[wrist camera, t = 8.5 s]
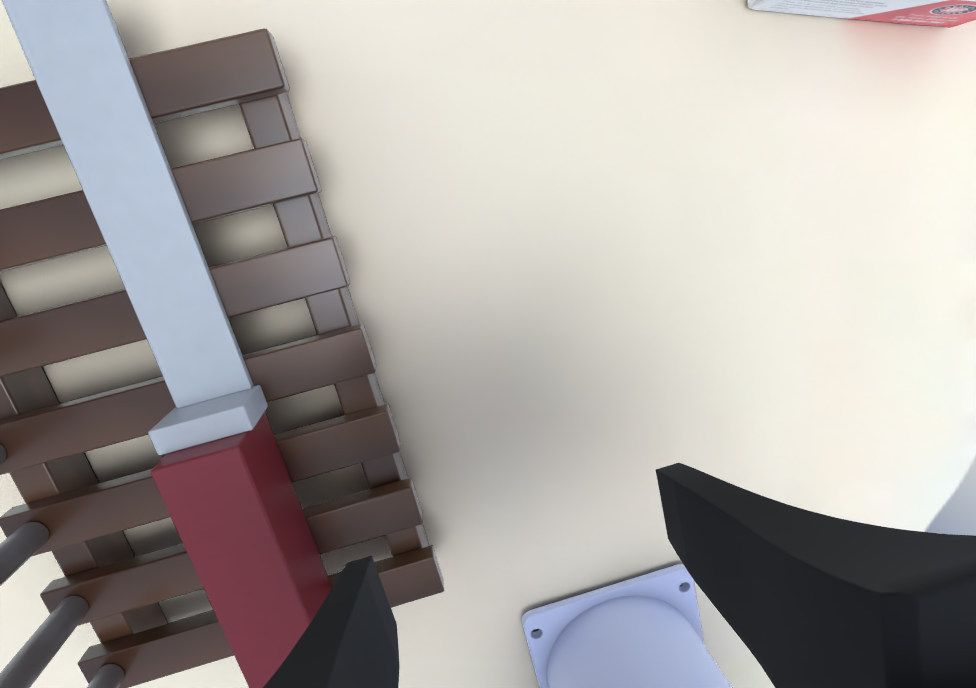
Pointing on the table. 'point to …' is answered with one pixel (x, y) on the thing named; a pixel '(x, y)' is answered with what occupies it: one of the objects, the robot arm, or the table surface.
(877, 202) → the table surface
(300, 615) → the knife
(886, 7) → the ink cartridge box
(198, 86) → the drying rack
